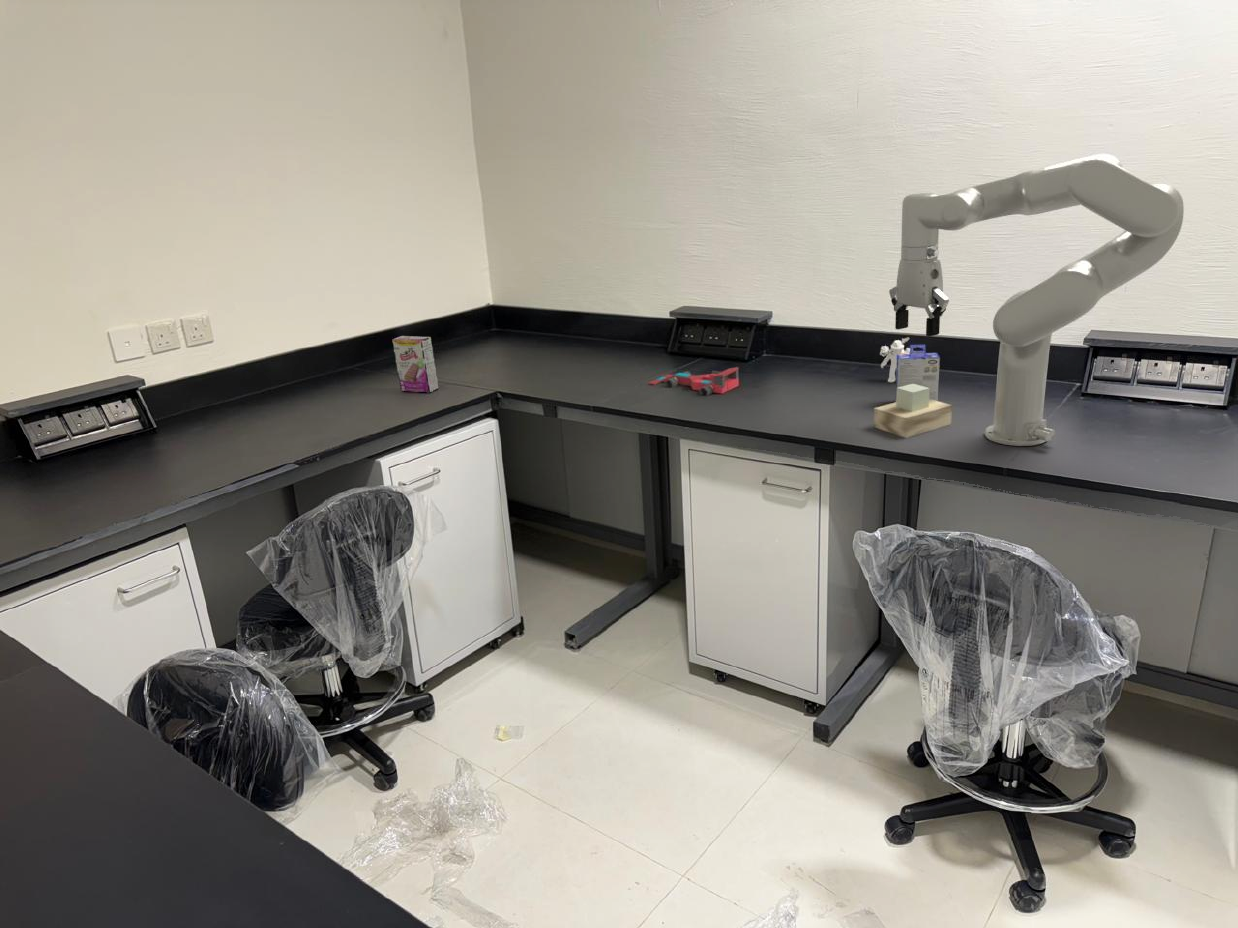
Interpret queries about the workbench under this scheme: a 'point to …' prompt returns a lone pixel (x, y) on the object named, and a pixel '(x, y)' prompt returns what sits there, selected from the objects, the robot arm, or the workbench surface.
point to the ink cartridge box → (918, 370)
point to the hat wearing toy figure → (893, 356)
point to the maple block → (912, 418)
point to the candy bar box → (415, 363)
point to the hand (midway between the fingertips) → (916, 331)
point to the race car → (704, 381)
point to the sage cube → (912, 397)
